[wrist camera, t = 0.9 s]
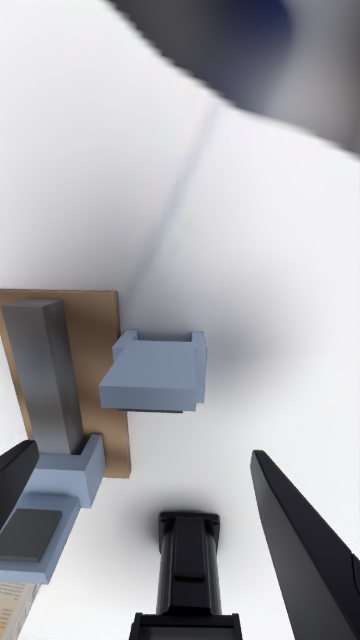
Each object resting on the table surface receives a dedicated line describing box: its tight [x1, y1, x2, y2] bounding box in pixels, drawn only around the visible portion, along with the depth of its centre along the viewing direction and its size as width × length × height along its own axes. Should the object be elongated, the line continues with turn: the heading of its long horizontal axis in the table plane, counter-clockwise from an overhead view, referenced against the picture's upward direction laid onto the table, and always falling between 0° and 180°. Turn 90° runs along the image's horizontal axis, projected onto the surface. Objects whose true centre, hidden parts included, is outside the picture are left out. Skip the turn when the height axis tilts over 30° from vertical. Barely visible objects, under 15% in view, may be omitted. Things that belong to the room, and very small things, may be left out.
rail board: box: [0, 289, 131, 479], centre depth 17 cm, size 18×9×3 cm, turn 179°
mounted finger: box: [0, 434, 106, 585], centre depth 15 cm, size 4×6×7 cm, turn 89°
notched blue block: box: [99, 330, 207, 413], centre depth 13 cm, size 4×6×7 cm, turn 89°
